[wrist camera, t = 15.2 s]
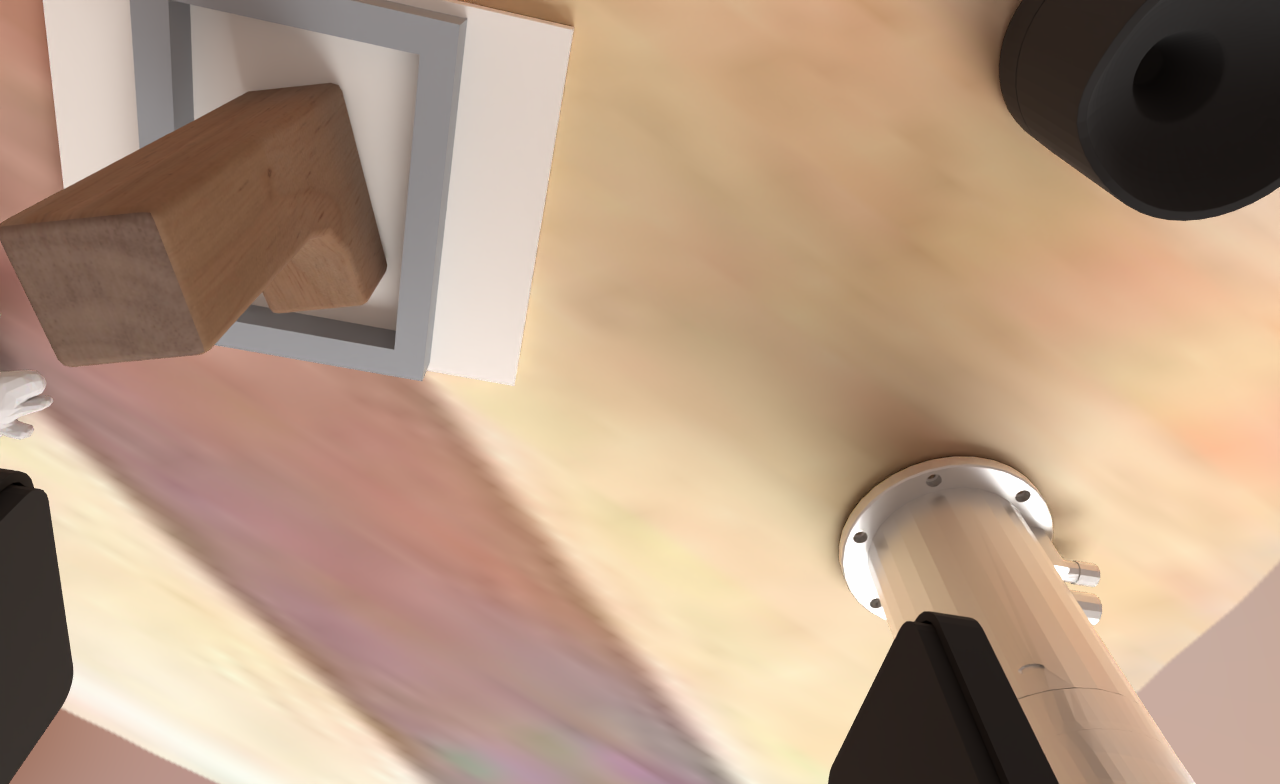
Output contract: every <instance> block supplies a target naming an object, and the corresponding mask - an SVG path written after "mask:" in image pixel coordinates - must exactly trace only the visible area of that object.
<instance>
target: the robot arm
mask: <svg viewBox="0 0 1280 784" xmlns="http://www.w3.org/2000/svg"><path fill="white" fill-rule="evenodd" d="M1052 538H1053V523H1052V516H1051V513H1050V511H1049V508H1048V506H1047V503H1046V501H1045V500H1044V498H1043V497H1042V495H1041V494H1040V492H1039V491H1038V489H1037V488H1036V487H1035V486H1034V485H1033V484H1032V483H1031V482H1030V480H1029V479H1028V478H1027V477H1026V476H1024V475H1023V474H1021V473H1020V472H1018V471H1017V470H1015V469H1014V468H1012V467H1010V466H1008V465H1005V464H1002V463H1000V462H997V461H994V460H990V459H985V458H979V457H960V456H953V457H946V458H939V459H933V460H929V461H926V462H923V463H919V464H916V465H913V466H910V467H908V468H906V469H904V470H902V471H900V472H897V473H895V474H893V475H892V476H890V477H889V478H887V479H886V480H884V481H883V482H881V483H880V484H878V485H877V486H875V487H874V488H873V489H872V490H871V491H870V492H869V493H868V494H867V495H866V496H865V497H863V498H862V499H861V501H860V502H859V503H858V505H857V506H856V507H855V509H854V510H853V511H852V513H851V514H850V516H849V518H848V520H847V522H846V524H845V526H844V528H843V531H842V535H841V539H840V543H839V562H840V565H841V569H842V573H843V576H844V579H845V581H846V584H847V586H848V589H849V591H850V592H851V593H852V595H853V596H854V597H855V599H856V600H857V601H858V602H859V603H860V604H861V605H862V606H863V607H864V608H865V609H867V610H868V611H869V612H871V613H873V614H875V615H877V616H879V617H881V618H882V619H885V620H887V622H888V625H889V628H890V630H891V633H892V636H893V639H894V641H893V643H892V646H891V648H890V650H889V652H888V654H887V656H886V658H885V660H884V662H883V664H882V666H881V668H880V670H879V672H878V674H877V676H876V678H875V680H874V682H873V684H872V686H871V688H870V690H869V692H868V694H867V696H866V698H865V700H864V702H863V704H862V706H861V708H860V710H859V712H858V714H857V716H856V718H855V720H854V722H853V724H852V726H851V729H850V731H849V733H848V735H847V737H846V739H845V741H844V743H843V745H842V747H841V749H840V751H839V753H838V755H837V757H836V759H835V761H834V763H833V765H832V767H831V770H830V774H829V781H828V784H1196V783H1195V782H1194V780H1193V779H1192V777H1191V776H1190V774H1189V773H1188V771H1187V770H1186V769H1185V767H1184V766H1183V764H1182V763H1181V761H1180V760H1179V759H1178V757H1177V755H1176V754H1175V752H1174V751H1173V749H1172V748H1171V746H1170V745H1169V743H1168V742H1167V740H1166V739H1165V737H1164V736H1163V734H1162V732H1161V731H1160V729H1159V728H1158V726H1157V725H1156V723H1155V722H1154V720H1153V719H1152V717H1151V716H1150V715H1149V713H1148V711H1147V709H1146V708H1145V707H1144V705H1143V703H1142V702H1141V700H1140V699H1139V697H1138V695H1137V694H1136V692H1135V691H1134V689H1133V688H1132V686H1131V685H1130V683H1129V681H1128V680H1127V678H1126V677H1125V675H1124V674H1123V672H1122V671H1121V669H1120V667H1119V666H1118V664H1117V663H1116V661H1115V660H1114V658H1113V657H1112V655H1111V654H1110V652H1109V650H1108V649H1107V647H1106V646H1105V644H1104V643H1103V641H1102V640H1101V638H1100V636H1099V635H1098V633H1097V632H1096V630H1095V629H1094V627H1093V626H1092V625H1096V624H1097V623H1098V621H1099V620H1100V618H1101V614H1102V604H1101V602H1100V599H1099V597H1097V596H1096V595H1095V594H1092V593H1085V592H1079V591H1073V590H1069V588H1068V587H1067V585H1066V584H1065V582H1070V583H1071V584H1076V585H1082V586H1088V587H1095V586H1096V585H1097V584H1098V582H1099V580H1100V570H1099V568H1098V566H1097V565H1095V564H1092V563H1086V562H1080V561H1067V560H1064V559H1063V558H1062V556H1060V554H1059V553H1058V551H1057V550H1056V548H1055V547H1054V545H1053V544H1052ZM72 679H73V663H72V656H71V650H70V643H69V636H68V629H67V623H66V616H65V609H64V602H63V596H62V589H61V582H60V575H59V568H58V562H57V555H56V548H55V541H54V535H53V528H52V521H51V514H50V507H49V501H48V497H47V494H46V493H45V492H44V491H43V490H41V489H36V488H34V486H33V483H32V480H31V478H30V477H29V476H28V475H27V474H26V473H23V472H20V471H14V470H7V469H1V468H0V784H9V783H10V781H11V780H12V778H13V777H14V775H15V774H16V772H17V771H18V769H19V768H20V767H21V765H22V764H23V762H24V761H25V759H26V758H27V756H28V755H29V753H30V752H31V750H32V749H33V748H34V746H35V745H36V743H37V742H38V740H39V739H40V737H41V736H42V735H43V733H44V732H45V730H46V729H47V727H48V726H49V724H50V723H51V721H52V720H53V719H54V717H55V715H56V714H57V713H58V711H59V710H60V708H61V707H62V705H63V704H64V702H65V700H66V698H67V696H68V693H69V691H70V687H71V684H72Z"/></svg>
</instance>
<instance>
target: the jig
mask: <svg viewBox="0 0 1280 784" xmlns="http://www.w3.org/2000/svg"><path fill="white" fill-rule="evenodd" d="M43 7H44V16H45V25H46V34H47V43H48V52H49V60H50V69H51V78H52V87H53V96H54V105H55V114H56V123H57V132H58V141H59V150H60V159H61V168H62V176H63V185H64V189H65V188H67V187H69V186H71V185H73V184H74V183H76V182H78V181H80V180H82V179H84V178H86V177H88V176H90V175H91V174H93V173H95V172H97V171H99V170H101V169H103V168H105V167H107V166H108V165H110V164H112V163H114V162H116V161H118V160H120V159H122V158H124V157H125V156H127V155H129V154H131V153H133V152H135V151H137V150H139V149H141V148H142V147H144V146H146V145H148V144H150V143H152V142H154V141H156V140H157V139H159V138H161V137H163V136H165V135H167V134H169V133H171V132H173V131H175V130H177V129H179V128H181V127H182V126H184V125H186V124H188V123H190V122H192V121H194V120H196V119H198V118H200V117H201V116H203V115H205V114H207V113H209V112H211V111H213V110H215V109H216V108H218V107H220V106H222V105H224V104H226V103H228V102H229V101H231V100H233V99H235V98H237V97H239V96H241V95H243V94H244V93H246V92H248V91H258V90H267V89H277V88H286V87H295V86H305V85H314V84H324V83H333V84H337V85H339V87H340V89H341V90H342V92H343V96H344V100H345V103H346V107H347V111H348V115H349V119H350V123H351V127H352V130H353V134H354V138H355V142H356V146H357V150H358V154H359V158H360V161H361V165H362V169H363V173H364V177H365V181H366V185H367V188H368V192H369V196H370V200H371V204H372V208H373V212H374V216H375V220H376V224H377V227H378V231H379V235H380V239H381V243H382V247H383V251H384V255H385V259H386V263H387V270H386V272H385V274H384V276H383V277H382V279H381V281H380V282H379V284H378V285H377V287H376V289H375V290H374V292H373V294H372V295H371V297H370V298H369V300H368V302H367V303H365V304H363V305H360V306H350V307H340V308H330V309H319V310H309V311H299V312H288V313H273V312H272V311H271V310H270V308H269V306H268V304H267V302H266V299H265V297H264V295H263V292H262V293H261V294H260V295H259V296H258V297H257V298H256V299H255V301H254V302H253V303H252V304H251V305H250V306H249V307H248V308H247V309H246V311H245V312H244V313H243V314H242V315H241V316H240V317H239V318H238V319H237V321H236V322H235V323H234V324H233V325H232V326H231V327H230V328H229V329H228V331H227V332H226V333H225V334H224V335H223V336H222V337H221V338H220V339H219V340H218V342H217V343H216V344H215V345H218V346H223V347H229V348H235V349H240V350H246V351H252V352H258V353H263V354H269V355H275V356H280V357H286V358H292V359H298V360H303V361H309V362H315V363H321V364H326V365H332V366H338V367H343V368H349V369H355V370H361V371H366V372H372V373H378V374H384V375H389V376H395V377H401V378H406V379H412V380H418V381H423V378H424V376H425V373H426V371H432V372H438V373H444V374H449V375H455V376H461V377H466V378H472V379H478V380H483V381H489V382H495V383H500V384H506V385H512V386H514V384H515V380H516V375H517V369H518V363H519V357H520V351H521V345H522V339H523V333H524V327H525V321H526V315H527V309H528V303H529V297H530V291H531V284H532V278H533V272H534V266H535V260H536V254H537V248H538V242H539V236H540V230H541V224H542V218H543V212H544V206H545V200H546V194H547V188H548V182H549V176H550V170H551V164H552V158H553V152H554V146H555V140H556V134H557V128H558V122H559V116H560V110H561V104H562V98H563V92H564V86H565V80H566V74H567V68H568V62H569V56H570V50H571V44H572V38H573V32H574V27H572V26H568V25H563V24H559V23H555V22H550V21H546V20H541V19H537V18H533V17H528V16H524V15H520V14H515V13H511V12H506V11H502V10H498V9H493V8H489V7H485V6H480V5H476V4H471V3H467V2H463V1H458V0H43Z"/></svg>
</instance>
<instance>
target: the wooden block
mask: <svg viewBox="0 0 1280 784" xmlns="http://www.w3.org/2000/svg"><path fill="white" fill-rule="evenodd" d="M0 241H1V243H2V245H3V247H4V249H5V251H6V254H7V256H8V258H9V260H10V262H11V264H12V266H13V268H14V270H15V272H16V274H17V276H18V278H19V280H20V282H21V284H22V286H23V288H24V291H25V293H26V295H27V297H28V299H29V301H30V303H31V305H32V307H33V309H34V311H35V313H36V315H37V317H38V319H39V321H40V323H41V325H42V328H43V330H44V332H45V334H46V336H47V338H48V340H49V342H50V344H51V346H52V348H53V350H54V352H55V354H56V356H57V358H58V360H59V361H60V362H61V363H62V364H63V365H65V366H69V367H77V366H88V365H98V364H108V363H119V362H129V361H140V360H150V359H160V358H171V357H181V356H191V355H200V354H203V353H205V352H207V351H209V350H210V349H211V348H212V347H213V346H214V345H215V344H216V343H217V342H218V340H219V339H220V338H221V337H222V336H223V335H224V334H225V333H226V332H227V331H228V329H229V328H230V327H231V326H232V325H233V324H234V323H235V322H236V321H237V319H238V318H239V317H240V316H241V315H242V314H243V313H244V312H245V311H246V309H247V308H248V307H249V306H250V305H251V304H252V303H253V302H254V301H255V299H256V298H257V297H258V296H259V295H260V294H261V293H262V292H263V295H264V297H265V299H266V302H267V304H268V306H269V308H270V310H271V311H272V312H273V313H288V312H299V311H309V310H319V309H330V308H340V307H350V306H360V305H363V304H365V303H367V302H368V300H369V298H370V297H371V295H372V294H373V292H374V290H375V289H376V287H377V285H378V284H379V282H380V281H381V279H382V277H383V276H384V274H385V272H386V270H387V263H386V259H385V255H384V251H383V247H382V243H381V239H380V235H379V231H378V227H377V224H376V220H375V216H374V212H373V208H372V204H371V200H370V196H369V192H368V188H367V185H366V181H365V177H364V173H363V169H362V165H361V161H360V158H359V154H358V150H357V146H356V142H355V138H354V134H353V130H352V127H351V123H350V119H349V115H348V111H347V107H346V103H345V100H344V96H343V92H342V90H341V89H340V87H339V85H337V84H333V83H324V84H314V85H305V86H295V87H286V88H277V89H267V90H258V91H248V92H246V93H244V94H243V95H241V96H239V97H237V98H235V99H233V100H231V101H229V102H228V103H226V104H224V105H222V106H220V107H218V108H216V109H215V110H213V111H211V112H209V113H207V114H205V115H203V116H201V117H200V118H198V119H196V120H194V121H192V122H190V123H188V124H186V125H184V126H182V127H181V128H179V129H177V130H175V131H173V132H171V133H169V134H167V135H165V136H163V137H161V138H159V139H157V140H156V141H154V142H152V143H150V144H148V145H146V146H144V147H142V148H141V149H139V150H137V151H135V152H133V153H131V154H129V155H127V156H125V157H124V158H122V159H120V160H118V161H116V162H114V163H112V164H110V165H108V166H107V167H105V168H103V169H101V170H99V171H97V172H95V173H93V174H91V175H90V176H88V177H86V178H84V179H82V180H80V181H78V182H76V183H74V184H73V185H71V186H69V187H67V188H65V189H63V190H61V191H59V192H57V193H56V194H54V195H52V196H50V197H48V198H46V199H44V200H42V201H40V202H39V203H37V204H35V205H33V206H31V207H29V208H27V209H25V210H23V211H22V212H20V213H18V214H16V215H14V216H12V217H10V218H8V219H7V220H5V221H4V222H2V223H1V224H0Z"/></svg>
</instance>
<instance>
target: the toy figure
mask: <svg viewBox="0 0 1280 784" xmlns="http://www.w3.org/2000/svg"><path fill="white" fill-rule="evenodd" d="M0 316H1V313H0ZM45 387H46V381H45V378H44V377H43V376H42V375H41V374H40V373H38V372H37V371H34V370H19V371H3V372H0V437H1V436H2V435H4V436H7V437H10V438H14V439H23V438H27V437H29V436H31V434H32V432H33V431H34V428H33V426H32V425H29V424H26V423H22V422H20V421H18V420H17V418H19V417H20V416H23V415H27V414H30V413H33V412H37V411H40V410H43V409H45V408H46V407H48V406H50V405H51V404H52V402H53V399H52V398H51V397H50V396H36V395H39V394H41V393H42V392H43V391H44V389H45Z"/></svg>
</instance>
